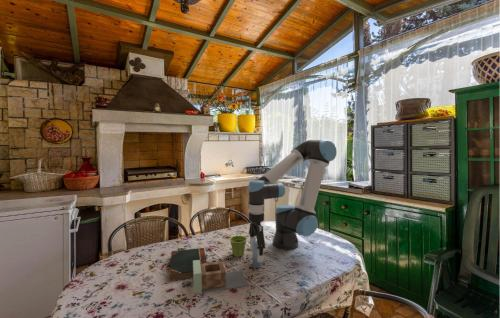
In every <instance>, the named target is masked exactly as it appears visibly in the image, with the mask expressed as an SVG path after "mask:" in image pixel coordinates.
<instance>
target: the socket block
mask: <svg viewBox="0 0 500 318" xmlns="http://www.w3.org/2000/svg"><path fill="white" fill-rule="evenodd" d="M200 266H201V275H202V289H209V288H216V287H222V286H226V268H225V265H224V263H223V260H222V261H213V262H207V263H204V264H200Z"/></svg>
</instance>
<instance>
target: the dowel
mask: <svg viewBox="0 0 500 318" xmlns="http://www.w3.org/2000/svg"><path fill="white" fill-rule="evenodd" d="M252 247H253V250H252V268H254V269H259V268H261V267H262V265H261V263H262V262H257V247H258V243H257V240H256V241H253V242H252Z"/></svg>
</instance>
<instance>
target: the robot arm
mask: <svg viewBox="0 0 500 318" xmlns="http://www.w3.org/2000/svg"><path fill="white" fill-rule="evenodd" d="M336 157H337V147H336V145H335V143H334V142H333V141H332V140H330V139H309V140H305V141H303V142H301V143H300V144H298V145H297V146H295V147H294V148H293V149H291V151H290V153H289V154H288V155H287V156H285V157H284V158H283V159H282V160H281V161H279V162H278V163H277V164H275V166H273V167H272V168H271V169H269V170H268V171H266V173H264V174H263V175H261V176H260V177H259V178H258V179H257V178H256V179H252V180H249V182H248V206H247V208H248V221H249V229H248V235H249V250H250V251H253V247H252V242H253V241H257V243H258V247H257V262H261V263H262V262H264V249H266V242H265V234H264V226H263V225H262V224H261V223H262V222H264V220H265V200H271V199H272V200H273V199H278V198H282V197H284V196H285V194H286V188H285V187H286V186H285V185H284V184H283V183H282V182H278V181H279V180H280V179H282V178H283V177H284V176H285V175H286V174H288V173H289V172H290V171H291V170H292V169H293V168H295V167H296V166H297V165H299V164H302V163H303V162H305V161H307V160H308V163H309V165H308V168H307V169H308V170H307V172H306V175H305V176H306V177H305V180H304V184H303V188H302V191H301V194H300V197H299V202H298V204H297V205H293V204H291V205H290V204H288V205H287V204H286V205H279V206H276V208H275V212H274V213H275V232H274V235H273V237H272V245H273V247H275V248H276V249H280V250H281V249H282V250H294V249H296V248H297V247H299V239H298V236H297V234H298V235H299V236H303V237H309V236H312V235H313V234H314V233H315V232H316V231H317V228H318V226H319V225H318V224H319V223H318V219H317V217H316V215H317V213H316V211H315V207H316V203H317V199H318V195H319V191H320V187H321V184H322V182H323V177H324V173H325V171H326V170H325V169H326V168H327V167H328V166H329V165H330V162H331V161H334V160H335V159H336Z"/></svg>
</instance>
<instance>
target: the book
mask: <svg viewBox="0 0 500 318" xmlns="http://www.w3.org/2000/svg"><path fill="white" fill-rule="evenodd" d="M194 260H200V264H204V263H208V262H207V255H206V252H205V248H204V247H198V248H190V249H189V248H187V249H180V250H172V251H171V254H170V260H169V261H170V262H169V276H170V277H169V281H176V280H185V279H192V278H193V261H194Z"/></svg>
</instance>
